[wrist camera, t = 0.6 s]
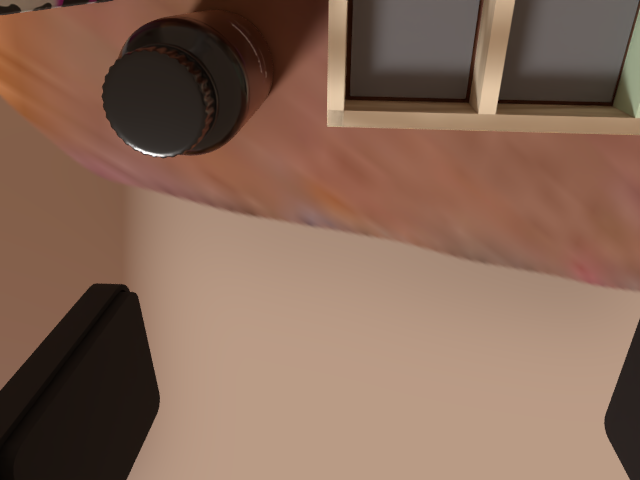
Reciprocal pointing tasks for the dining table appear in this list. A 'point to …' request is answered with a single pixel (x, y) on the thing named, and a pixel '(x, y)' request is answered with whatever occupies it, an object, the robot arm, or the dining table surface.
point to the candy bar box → (38, 5)
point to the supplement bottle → (187, 83)
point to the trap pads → (521, 55)
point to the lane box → (483, 94)
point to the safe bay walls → (630, 77)
